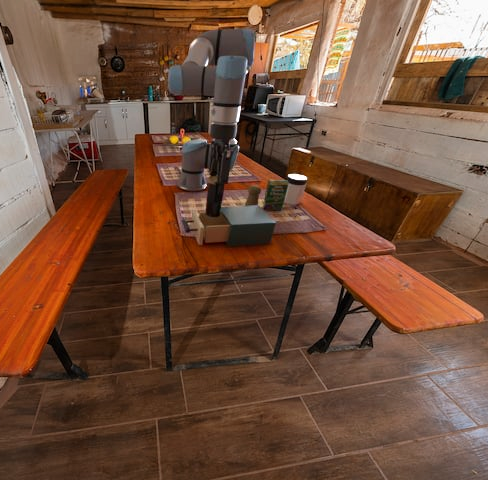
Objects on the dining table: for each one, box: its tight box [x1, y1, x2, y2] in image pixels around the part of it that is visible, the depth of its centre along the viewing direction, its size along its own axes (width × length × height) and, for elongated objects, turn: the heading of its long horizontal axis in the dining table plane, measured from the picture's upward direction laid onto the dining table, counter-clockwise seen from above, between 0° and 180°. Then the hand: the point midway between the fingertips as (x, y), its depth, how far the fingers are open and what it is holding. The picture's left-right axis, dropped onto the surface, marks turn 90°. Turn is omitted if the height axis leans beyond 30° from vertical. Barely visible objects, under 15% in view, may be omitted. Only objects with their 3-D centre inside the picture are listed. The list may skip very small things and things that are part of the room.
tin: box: [204, 175, 226, 217], centre depth 85 cm, size 5×5×12 cm
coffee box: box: [262, 179, 289, 212], centre depth 111 cm, size 8×3×13 cm, turn 81°
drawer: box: [181, 210, 230, 246], centre depth 91 cm, size 19×12×7 cm, turn 98°
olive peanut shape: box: [244, 184, 262, 206], centre depth 110 cm, size 6×6×11 cm
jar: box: [283, 173, 308, 206], centre depth 118 cm, size 9×8×12 cm
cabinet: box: [221, 204, 277, 247], centre depth 92 cm, size 16×14×9 cm
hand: (214, 198), depth 85 cm, fingers closed on tin, 5 cm apart
